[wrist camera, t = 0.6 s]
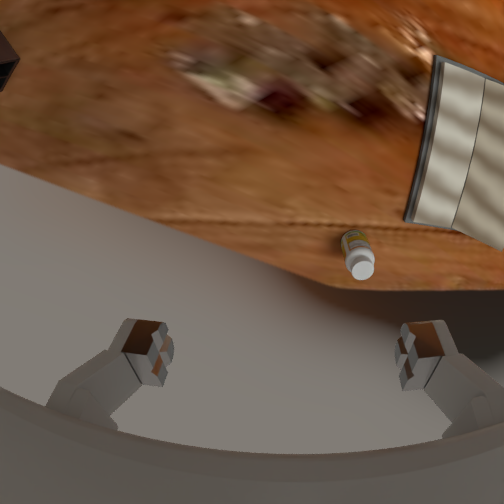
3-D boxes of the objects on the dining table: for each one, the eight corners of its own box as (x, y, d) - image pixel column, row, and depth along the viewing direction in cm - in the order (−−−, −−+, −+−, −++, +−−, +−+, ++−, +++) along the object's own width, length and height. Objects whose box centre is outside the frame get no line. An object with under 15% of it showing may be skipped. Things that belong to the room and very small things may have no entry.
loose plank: (485, 79, 36) (485, 78, 35) (542, 103, 30) (543, 103, 29) (452, 225, 53) (451, 227, 52) (501, 248, 46) (501, 251, 45)
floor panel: (434, 55, 37) (440, 55, 35) (530, 98, 36) (537, 100, 34) (403, 219, 55) (407, 225, 53) (494, 235, 53) (500, 241, 51)
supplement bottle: (356, 257, 60) (365, 288, 52) (334, 245, 60) (341, 275, 51) (372, 237, 58) (384, 266, 49) (350, 224, 57) (360, 252, 49)
